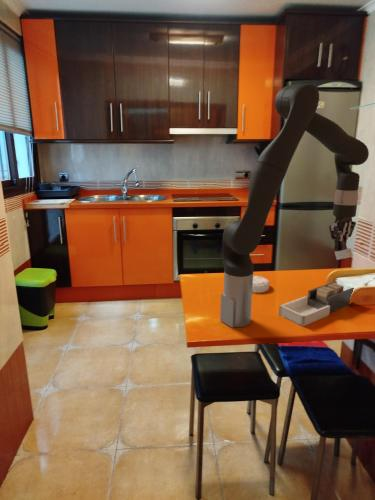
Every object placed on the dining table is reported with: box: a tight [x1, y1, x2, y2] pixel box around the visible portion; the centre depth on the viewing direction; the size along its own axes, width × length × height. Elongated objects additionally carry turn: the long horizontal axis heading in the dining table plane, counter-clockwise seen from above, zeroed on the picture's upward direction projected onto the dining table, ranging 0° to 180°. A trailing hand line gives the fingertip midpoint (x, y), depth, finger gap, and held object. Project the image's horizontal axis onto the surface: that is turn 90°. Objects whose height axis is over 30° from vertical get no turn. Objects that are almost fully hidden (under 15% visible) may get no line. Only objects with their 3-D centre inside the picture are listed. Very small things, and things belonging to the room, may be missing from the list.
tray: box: [278, 295, 330, 327], centre depth 119 cm, size 14×10×4 cm
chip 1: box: [316, 286, 334, 303], centre depth 124 cm, size 4×4×4 cm
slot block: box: [307, 281, 355, 314], centre depth 126 cm, size 16×8×6 cm, turn 124°
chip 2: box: [327, 282, 345, 295], centre depth 127 cm, size 4×4×4 cm
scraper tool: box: [333, 235, 354, 261], centre depth 126 cm, size 2×5×9 cm, turn 35°
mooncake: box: [252, 275, 270, 294], centre depth 143 cm, size 12×12×4 cm
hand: (339, 249), depth 127 cm, fingers closed on scraper tool, 2 cm apart
